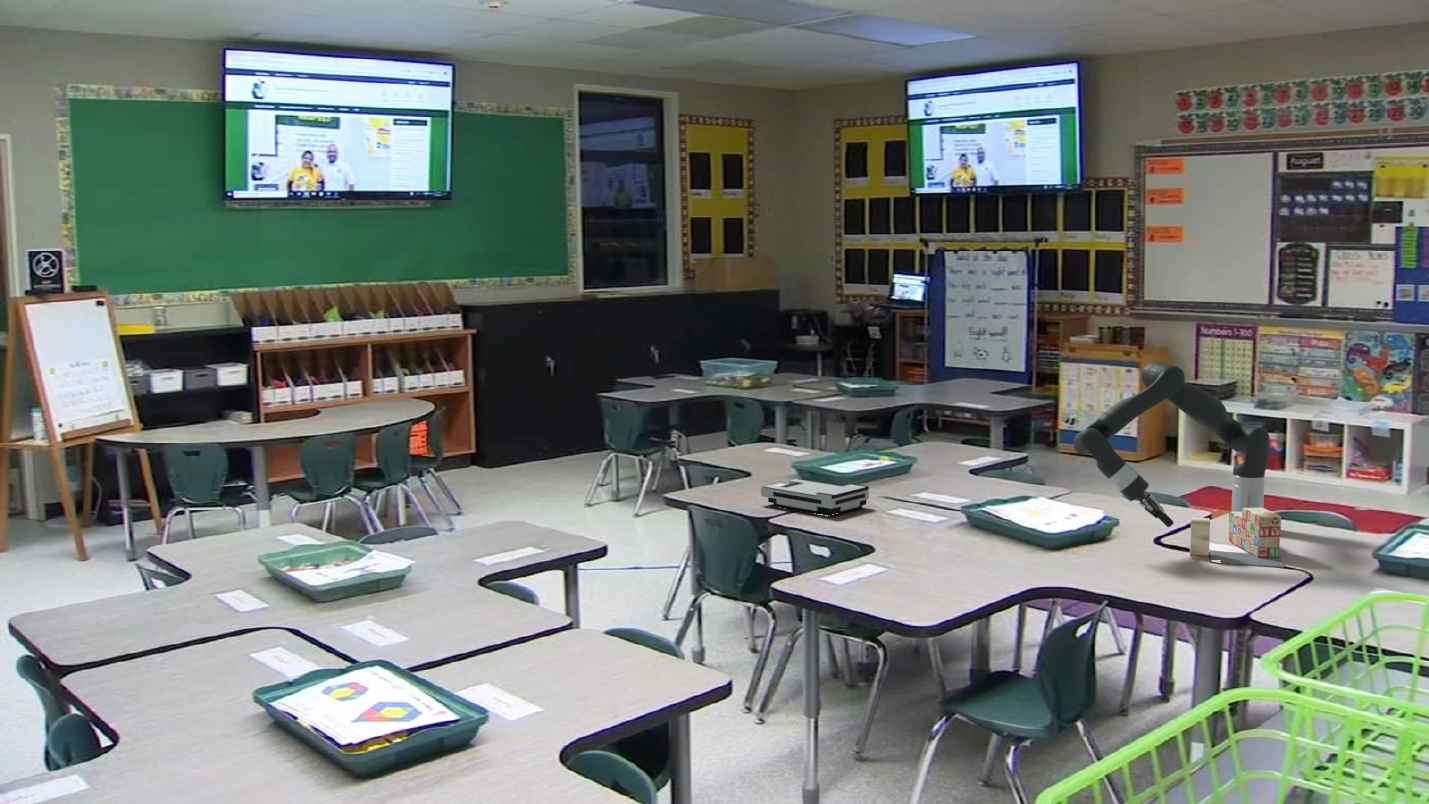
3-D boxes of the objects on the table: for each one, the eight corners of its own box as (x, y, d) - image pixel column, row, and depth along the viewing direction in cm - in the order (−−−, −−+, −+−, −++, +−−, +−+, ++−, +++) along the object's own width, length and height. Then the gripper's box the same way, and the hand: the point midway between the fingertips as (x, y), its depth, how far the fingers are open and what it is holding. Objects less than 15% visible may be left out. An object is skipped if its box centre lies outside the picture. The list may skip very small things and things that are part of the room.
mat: (1209, 551, 357) (1209, 550, 357) (1280, 556, 350) (1280, 555, 350) (1211, 562, 345) (1211, 561, 345) (1284, 568, 338) (1284, 566, 338)
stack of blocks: (1227, 541, 369) (1229, 501, 368) (1248, 541, 369) (1250, 501, 368) (1258, 557, 348) (1259, 515, 346) (1279, 557, 348) (1281, 515, 346)
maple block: (1189, 553, 355) (1191, 517, 354) (1208, 555, 353) (1209, 518, 352) (1190, 558, 351) (1191, 521, 349) (1208, 559, 349) (1210, 522, 347)
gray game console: (798, 497, 446) (798, 475, 445) (868, 509, 424) (868, 486, 423) (761, 506, 431) (761, 483, 430) (831, 519, 409) (831, 495, 408)
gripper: (1137, 477, 349) (1181, 521, 346) (1138, 469, 361) (1181, 511, 359) (1117, 494, 352) (1161, 538, 349) (1119, 485, 364) (1161, 528, 361)
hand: (1171, 524), depth 354 cm, fingers closed
